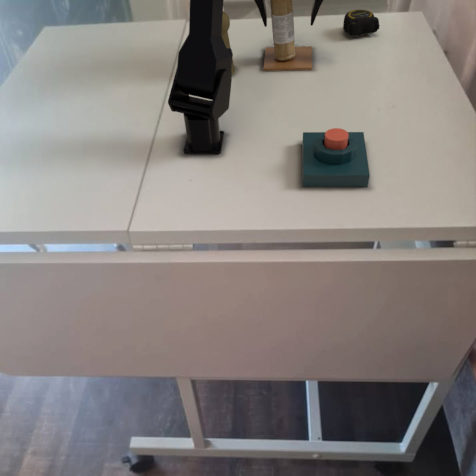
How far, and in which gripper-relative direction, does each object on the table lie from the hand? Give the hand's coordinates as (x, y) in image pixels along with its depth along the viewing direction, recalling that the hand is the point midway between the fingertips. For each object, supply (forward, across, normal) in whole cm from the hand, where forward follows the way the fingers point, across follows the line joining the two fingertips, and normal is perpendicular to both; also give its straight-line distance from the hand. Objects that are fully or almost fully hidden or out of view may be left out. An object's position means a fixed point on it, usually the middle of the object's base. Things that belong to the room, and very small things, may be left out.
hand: (288, 25), depth 97 cm
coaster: (+7, 0, 0) cm, 7 cm away
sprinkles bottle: (+6, +1, +1) cm, 6 cm away
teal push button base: (+6, -8, +38) cm, 40 cm away
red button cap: (+2, -8, +38) cm, 39 cm away
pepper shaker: (+7, +14, +5) cm, 16 cm away
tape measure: (+7, -16, -12) cm, 21 cm away
